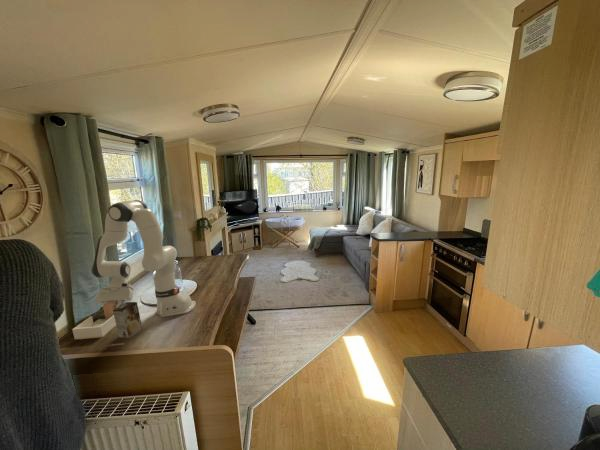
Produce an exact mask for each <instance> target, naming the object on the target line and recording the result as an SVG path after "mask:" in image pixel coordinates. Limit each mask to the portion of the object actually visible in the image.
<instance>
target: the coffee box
mask: <svg viewBox="0 0 600 450" xmlns="http://www.w3.org/2000/svg"><path fill="white" fill-rule="evenodd" d="M139 311H140V310H139V307H138V301H125V303H123V304H121V305H120V306H119V307H118V308H116V309H114V310H113V313H114V317H115V322H116V326H115V327H116V329H117V335H118V338H127V339H128V340H129V339H131V338H132V337H134V336H135V335H136V334H137V333H139V332H140V331H141V330H143V326H142V319H141V315H140V312H139Z"/></svg>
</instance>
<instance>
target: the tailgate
mask: <svg viewBox="0 0 600 450" xmlns="http://www.w3.org/2000/svg"><path fill="white" fill-rule="evenodd" d="M108 319H109V318H107V319H105V318H99V319H97V320H95V321H93V323H94V324H100V323H104V322H106V321H107V320H108Z"/></svg>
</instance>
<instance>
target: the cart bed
mask: <svg viewBox="0 0 600 450" xmlns="http://www.w3.org/2000/svg"><path fill="white" fill-rule="evenodd" d="M114 327H115V328H116V327H117V326H116V322H115V317H114V315H113V316H112V317H111V318H109V319H108V320H107V321H106V322H104V323H100V324H94V319H93V316H92V315H90V316H89V317H87V318H86V319H85V320H83V321H82V322H80V323H78V325H76V326H75V327H73V328H72V329H71V330H72V334H73V337H74V340H84V339H93V338H94V339H97V338H104V337H105V336H106V334H108V333H109V332H111V330H112V329H114Z"/></svg>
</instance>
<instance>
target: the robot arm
mask: <svg viewBox="0 0 600 450" xmlns="http://www.w3.org/2000/svg"><path fill="white" fill-rule="evenodd" d="M130 221H132V222H134V223H135V225H136V227H137V230H138V233H139V235H140V239H141V241H142V245H143V258H142V260H141V264H142V265H141V266H142V268H143V269H144V270H145V271H147V272H151V273H153V272H155V273H154V276H153V283H154V288H155V290H154V294H155V298H156V312H155V314H156V315H158V316H160V318H166V317H171V316H177V315H182V314H188V313H189V312H190V313H191V311H192V310H194V308H196V301H195V300H192V298H191V296H190V295H189V294H188V293H185V292H183V291H180V289H181V285H179V286H177V285H176V280H175V263H176V258H177V257H178V250H177V249H176V247H174V245H173V246H172V245H164V246H163V240H164V234H163V231H162V228H161V226H160V224H159V221H158V219H157V216H156V215H155V213H154V212H153V210H152V209H150V208H148V206H147V204H146V203H145V202H144V201H142V200H138V199H137V200H136V199H134V200H125V201H121V202H116V203H113V204H111V205H110V206H109V208H108V210H107V213H106V217H105V221H104V223H105V224H104V233H103V234H102V236H100V237H99V238H98V241H97V244H96V249H95V255H94V260H93V263H92V267H91V274H92V275H93V277H96V278H112V279H111V281H110V283H109V286H108V287H103V288H102V289H99V291H98V293H97V295H96V297H95V299H94V301H95V303H97V304H103V305H104V304H106V303H107V302H116V305H115V306H114V309H116V308H118V307H119V306H121V305H122V303H123V302H132V300H133V297H134V289H135V287H134V286H133V285H131V284H130V283H128V280H129V278H130V274H131V269H132V265H131V263H129V262H128V261H122V260H121V261H119V260H118V261H117V260H115V261H113V260H111V261H109V260H105V257H106V252H107V248H108V247H110V246H114V245H117V244H120V243H122V242H123V241H125V240H126V239H127V237H128V232H129V231H128V230H129V229H128V223H129V222H130Z"/></svg>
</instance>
